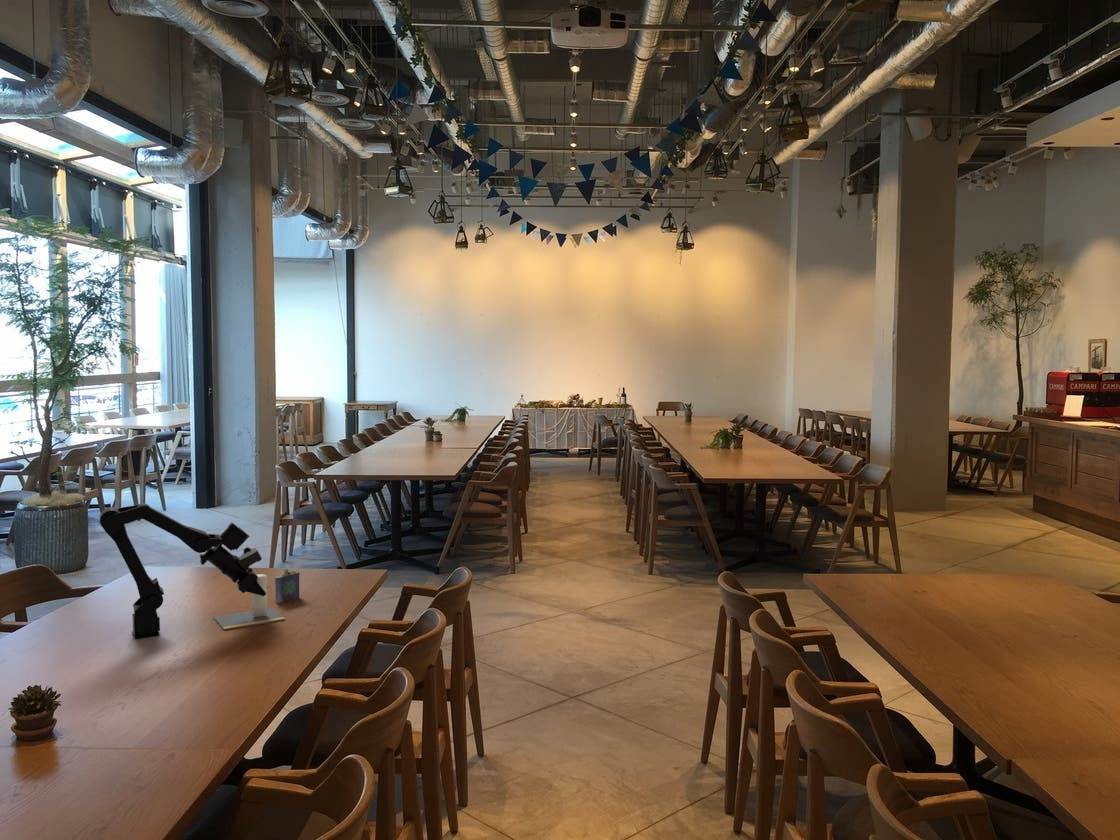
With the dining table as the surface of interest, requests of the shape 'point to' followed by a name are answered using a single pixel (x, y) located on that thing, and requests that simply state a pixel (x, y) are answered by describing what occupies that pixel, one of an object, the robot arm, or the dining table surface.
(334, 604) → the dining table surface
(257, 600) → the skittle
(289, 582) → the flask
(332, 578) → the dining table surface
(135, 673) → the dining table surface
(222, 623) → the mat
